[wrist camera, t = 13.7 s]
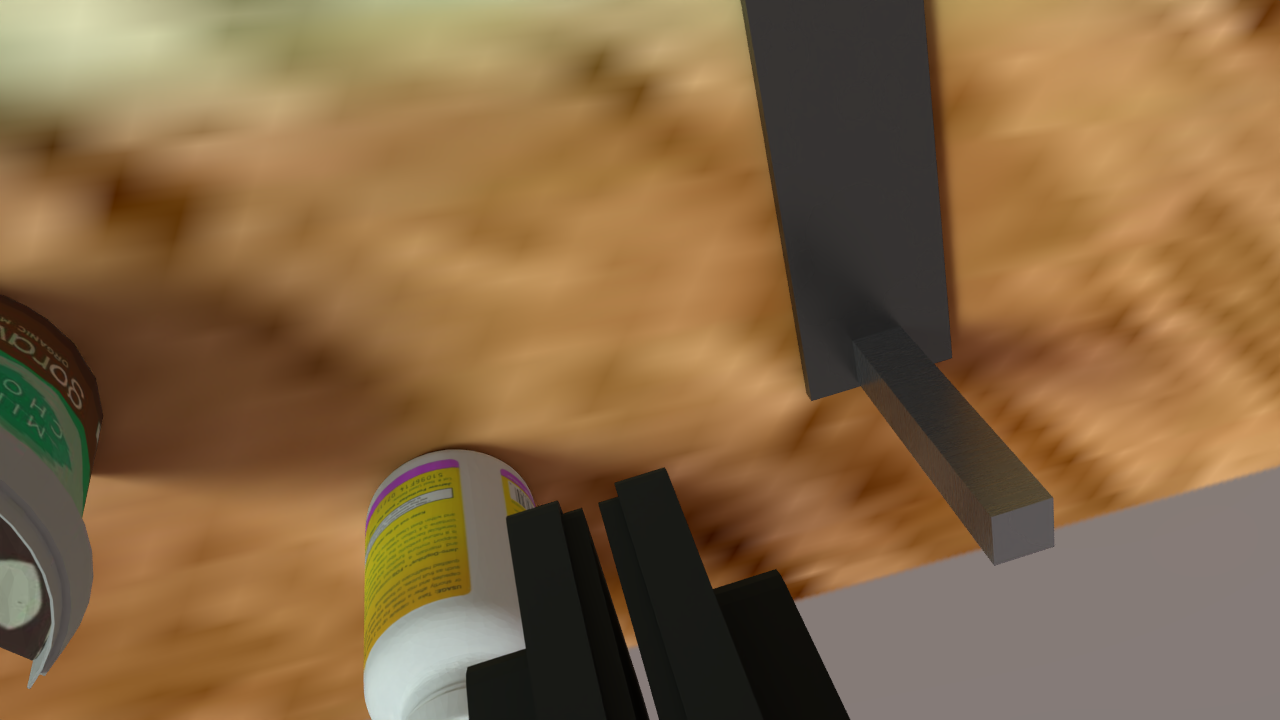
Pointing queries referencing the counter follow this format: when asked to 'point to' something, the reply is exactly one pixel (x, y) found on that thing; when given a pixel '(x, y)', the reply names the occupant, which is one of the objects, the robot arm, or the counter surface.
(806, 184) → the gate frame
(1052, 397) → the counter surface
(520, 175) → the counter surface
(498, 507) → the supplement bottle
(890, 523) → the counter surface
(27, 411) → the food container
